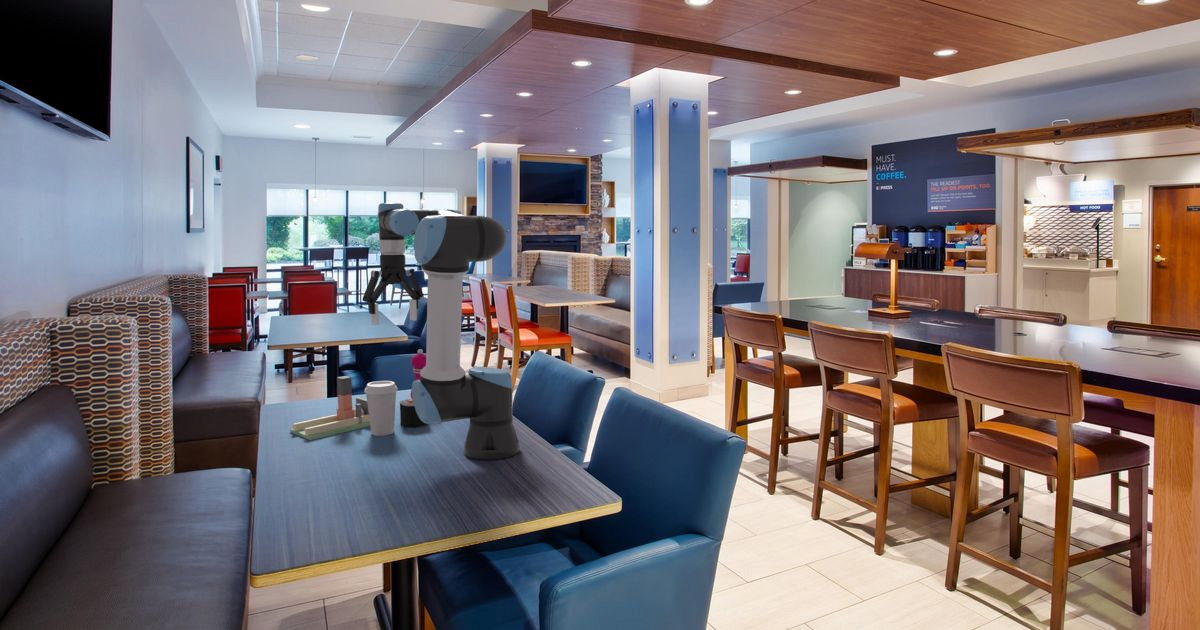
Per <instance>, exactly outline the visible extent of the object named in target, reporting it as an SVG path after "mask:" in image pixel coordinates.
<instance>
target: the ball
mask: <svg viewBox="0 0 1200 630" xmlns="http://www.w3.org/2000/svg"><path fill="white" fill-rule="evenodd" d="M353 409H354V417H356V407H353ZM361 415H364V410H363V409H362V408H361Z"/></svg>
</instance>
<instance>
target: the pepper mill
mask: <svg viewBox="0 0 1200 630" xmlns="http://www.w3.org/2000/svg"><path fill="white" fill-rule="evenodd" d="M423 352H424V350H423V349H422V348H421V349H420V348H419V349H418V350H417V353H416V354H414V355H413V356H412V358H411V361H410V362H411V365H412V367H413V369H412V370H413V371H412V372H413V374H414V381H416V380H420V371H421V370H422V369H423V368H424V367H425V366H426V354H425V353H423ZM411 398H412V388H411V390H410V399H411ZM412 399H413V398H412Z"/></svg>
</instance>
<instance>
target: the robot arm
mask: <svg viewBox="0 0 1200 630" xmlns="http://www.w3.org/2000/svg"><path fill="white" fill-rule="evenodd" d="M377 207H378V209H377V210H378V211H377V217H378V238H379V239H378V240H379V253H380V255H379V265H380V270H373V269H372V270H371V272H370V279H369V281H368V283H367V287H366V288H365V292H364V294H363V296H362V301H363V302H366V303H368V313H369V314H370V315H371V325H374V326H379V325H380V319H379V303H376V302H377V301H378V299H379V298H380V297H381V295H382V293H384V291H385V289H386V288H387V287H389V285H400V286H401V287H402V288H403V290H404V291H405V292H406V293H407V295H409V297H410V299H408V300H409V301H408V302H409V305H408V307H409V320H410V321H417V320H418V315H417V313H418V312H417V310H418V309H419V300H421V298H423V297H424V293H423V290H422V288H421V285H420V283H419V282H418V280H417V279H418V278H417V277H416V275H415V274H416V273H415V269H414V268H408V267H407V268H406V267H405V266H406V255H405V254H404V253H405V252H406V242H405V236H413V237H414V238H413V251H414V253H413V254H414V255H413V257H414V259H415V261H416V262H417V263H419V264H420V265H421V270H422V271H423V272H424V273H425V274H426V275H427V301H426V303H427V307H426V314H427V315H426V366H425V367H424V368H423V369H422V370H421V371H420V380H416V381H415V380H414V381H412V385H411V389H412V398H413V403H414V406H415V409H416V412H417V414H418V416H419V418H420V419H421V421H422V422H424V423H426V424H428V425H431V424H437V423H438V424H441V423H448V422H455V421H459V420H466V419H469V427H468V431H467V435H466V439H465V441H464V443H463V453H464V456H466V457H467V458H468V457H469V458H471V459H474V460H475V459H476V460H483V461H487V460H488V461H490V460H491V461H493V460H501V459H503V460H504V459H507V458H510V457H513V456H516V455H517V454H518V453H519V452H520V441H519V439H518V435H517V432H516V429H515V427H514V423H513V420H514V419H513V418H514V417H513V415H514V414H513V413H514V412H513V407H514V406H513V405H514V404H513V389H514V387H513V377H512V375H511V373H510V372H509V371H507V370H505V369H502V368H498V367H497V368H495V367H490V366H489V367H487V366H474V367H469V369H468V372H467V373H468V374H466V370H465V369H464V368H462V367H461V345H462V343H461V342H462V313H463V312H462V309H463V308H462V305H463V283H464V281H463V279H464V276H465V275H466V274H467V273H469V271H470V263H476V262H477V263H478V262H479V263H481V262H486V261H489V260H492V259H494V258H495V257H497V256H498V255H500V254H501V253H502V251H503V250H504V249H505V247H506V245H507V244H506V243H507V236H508V235H507V231H506V229H505V227H504V225H503V224H502V223H501V222H500V221H498V220H497V219H495V218H493V217H489V216H485V215H464V214H462V211H460V210H458V209H424V208H423V209H421V208H420V209H418V208H416V209H414V208H413V209H411V208H404V204H403V203H402V202H401V203H399V202H380V203H379V204H378V206H377ZM406 277H407V278H406ZM380 278H381V279H380ZM379 279H380V280H379ZM407 279H408V280H407ZM408 281H409V282H408ZM409 283H410V284H409Z"/></svg>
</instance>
